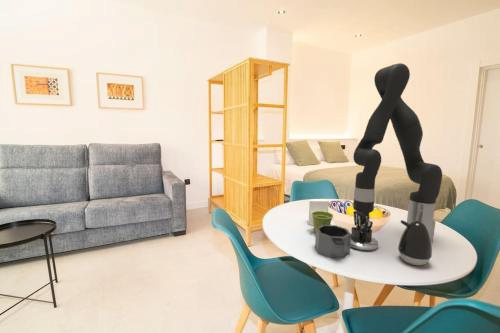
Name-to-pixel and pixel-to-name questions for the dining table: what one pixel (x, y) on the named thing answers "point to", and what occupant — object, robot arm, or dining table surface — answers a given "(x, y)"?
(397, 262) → the dining table surface
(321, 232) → the pot
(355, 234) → the lid
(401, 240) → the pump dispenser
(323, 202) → the white tall block
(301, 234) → the dining table surface
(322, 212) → the plant pot
